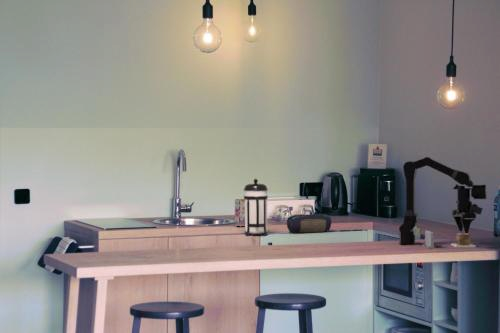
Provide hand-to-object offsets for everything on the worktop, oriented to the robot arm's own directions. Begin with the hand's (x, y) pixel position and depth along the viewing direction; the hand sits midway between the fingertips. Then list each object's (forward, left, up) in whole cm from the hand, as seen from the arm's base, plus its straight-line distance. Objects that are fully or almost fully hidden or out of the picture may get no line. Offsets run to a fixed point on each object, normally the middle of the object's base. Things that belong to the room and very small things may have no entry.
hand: (463, 232), depth 379 cm
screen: (-16, 0, -7) cm, 17 cm away
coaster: (0, 0, -7) cm, 7 cm away
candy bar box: (-100, +102, -7) cm, 143 cm away
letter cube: (0, 0, -6) cm, 6 cm away
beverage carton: (-16, +42, -7) cm, 45 cm away
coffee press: (-95, +55, -7) cm, 110 cm away
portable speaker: (-65, +67, -7) cm, 94 cm away
